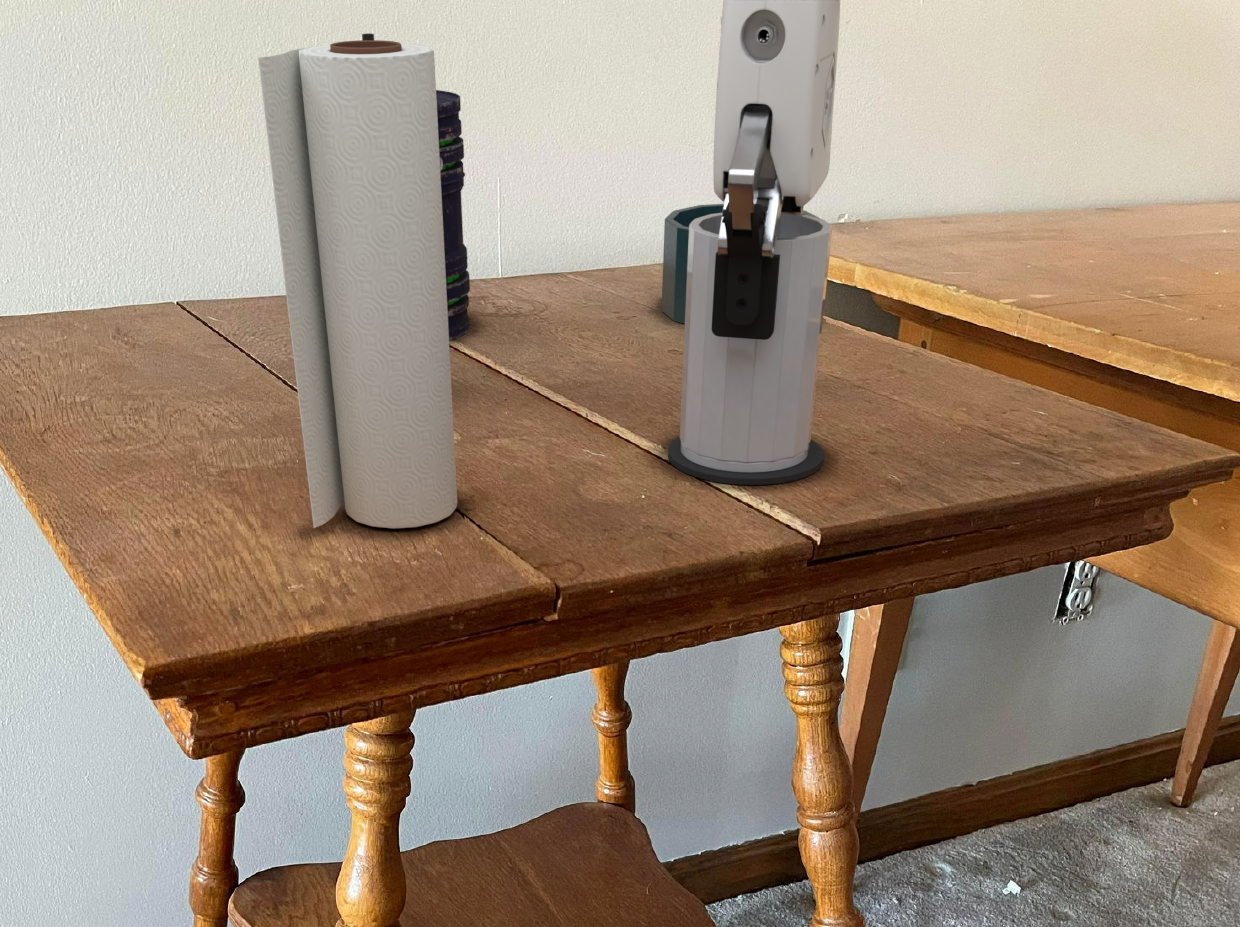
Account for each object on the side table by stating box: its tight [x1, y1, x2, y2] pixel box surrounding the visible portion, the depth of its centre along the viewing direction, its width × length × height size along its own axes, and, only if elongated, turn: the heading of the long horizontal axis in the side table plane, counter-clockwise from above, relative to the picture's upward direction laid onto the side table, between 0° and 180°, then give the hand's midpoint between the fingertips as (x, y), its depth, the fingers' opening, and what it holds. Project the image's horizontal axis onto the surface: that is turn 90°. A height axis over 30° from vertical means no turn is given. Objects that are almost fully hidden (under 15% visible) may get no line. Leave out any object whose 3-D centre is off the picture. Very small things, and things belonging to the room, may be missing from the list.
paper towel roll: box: [257, 39, 458, 529], centre depth 68 cm, size 7×6×21 cm
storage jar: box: [436, 89, 471, 341], centre depth 98 cm, size 10×10×15 cm
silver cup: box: [679, 211, 833, 473], centre depth 77 cm, size 7×7×12 cm
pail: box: [661, 203, 821, 325], centre depth 104 cm, size 11×11×6 cm
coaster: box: [667, 435, 825, 486], centre depth 80 cm, size 9×9×1 cm
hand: (756, 312), depth 76 cm, fingers open, 9 cm apart
